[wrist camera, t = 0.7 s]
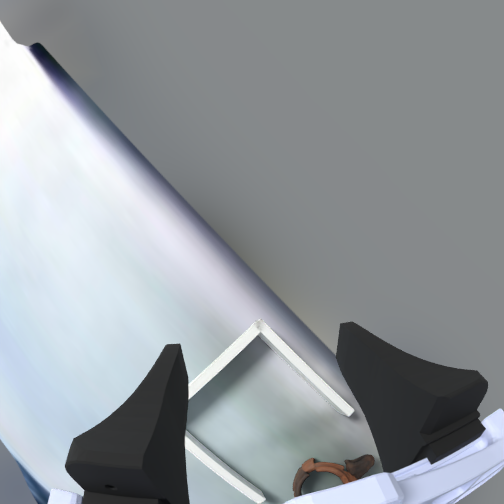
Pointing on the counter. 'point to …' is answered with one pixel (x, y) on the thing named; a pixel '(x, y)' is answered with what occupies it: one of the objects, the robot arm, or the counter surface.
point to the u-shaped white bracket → (216, 366)
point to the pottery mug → (333, 470)
